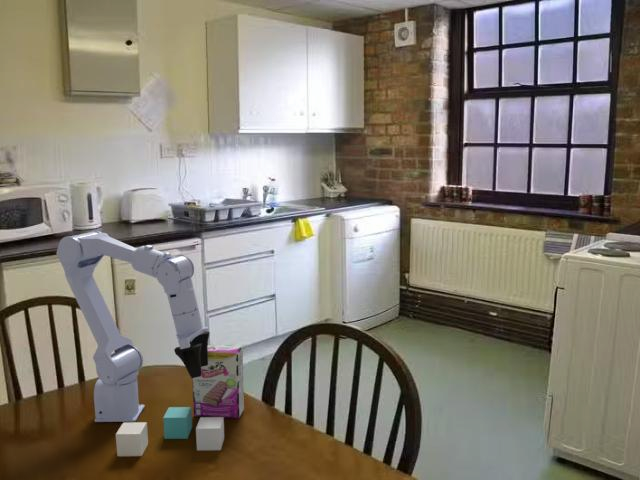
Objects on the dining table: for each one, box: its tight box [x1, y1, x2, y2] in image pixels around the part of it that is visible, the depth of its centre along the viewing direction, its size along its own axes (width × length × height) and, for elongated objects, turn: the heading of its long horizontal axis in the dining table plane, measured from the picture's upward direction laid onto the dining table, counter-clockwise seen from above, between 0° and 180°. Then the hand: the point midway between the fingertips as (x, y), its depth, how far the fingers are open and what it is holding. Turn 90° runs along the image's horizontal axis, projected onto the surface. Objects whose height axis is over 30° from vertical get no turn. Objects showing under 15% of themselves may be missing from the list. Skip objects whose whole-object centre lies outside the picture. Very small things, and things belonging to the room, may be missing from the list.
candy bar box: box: [192, 344, 245, 419], centre depth 141 cm, size 11×5×16 cm, turn 84°
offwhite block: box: [115, 421, 149, 457], centre depth 126 cm, size 5×5×5 cm
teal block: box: [162, 406, 193, 440], centre depth 133 cm, size 5×5×5 cm
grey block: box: [195, 417, 225, 451], centre depth 128 cm, size 5×5×5 cm
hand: (200, 371), depth 131 cm, fingers open, 7 cm apart
